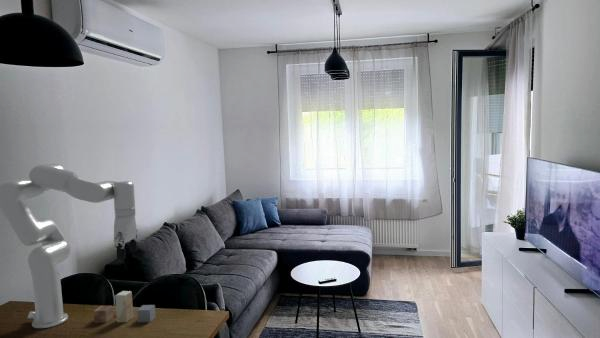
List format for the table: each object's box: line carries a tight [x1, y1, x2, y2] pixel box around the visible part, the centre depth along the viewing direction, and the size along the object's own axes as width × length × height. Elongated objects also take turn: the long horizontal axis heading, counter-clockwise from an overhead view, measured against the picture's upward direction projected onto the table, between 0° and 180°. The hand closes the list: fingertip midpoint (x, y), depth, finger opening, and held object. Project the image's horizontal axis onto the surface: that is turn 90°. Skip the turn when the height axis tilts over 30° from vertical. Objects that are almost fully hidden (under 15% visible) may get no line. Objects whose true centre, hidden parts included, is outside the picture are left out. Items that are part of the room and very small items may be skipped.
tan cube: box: [93, 305, 114, 324], centre depth 168 cm, size 5×5×5 cm
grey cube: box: [137, 304, 156, 323], centre depth 167 cm, size 5×5×5 cm
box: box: [114, 290, 134, 323], centre depth 167 cm, size 5×4×11 cm
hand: (127, 255), depth 165 cm, fingers open, 9 cm apart
